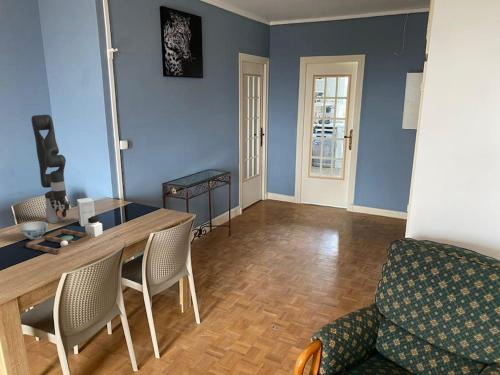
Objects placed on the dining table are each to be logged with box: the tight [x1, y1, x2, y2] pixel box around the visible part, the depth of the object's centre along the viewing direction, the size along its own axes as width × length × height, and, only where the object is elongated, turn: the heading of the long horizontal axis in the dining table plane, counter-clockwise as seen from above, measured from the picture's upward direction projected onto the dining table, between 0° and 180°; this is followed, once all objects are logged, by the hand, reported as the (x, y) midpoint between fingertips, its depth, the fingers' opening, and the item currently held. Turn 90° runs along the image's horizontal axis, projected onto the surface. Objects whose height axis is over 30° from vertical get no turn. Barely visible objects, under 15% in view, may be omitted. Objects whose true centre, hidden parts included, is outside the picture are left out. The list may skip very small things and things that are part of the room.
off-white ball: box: [59, 240, 68, 248], centre depth 217 cm, size 4×4×4 cm
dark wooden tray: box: [24, 228, 93, 255], centre depth 223 cm, size 24×26×2 cm
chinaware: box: [19, 220, 49, 240], centre depth 229 cm, size 15×15×8 cm
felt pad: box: [59, 235, 74, 241], centre depth 230 cm, size 8×8×1 cm
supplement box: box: [76, 197, 96, 227], centre depth 254 cm, size 10×9×17 cm
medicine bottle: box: [84, 215, 104, 238], centre depth 235 cm, size 7×7×12 cm
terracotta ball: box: [57, 210, 62, 217], centre depth 225 cm, size 4×4×4 cm
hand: (61, 216), depth 225 cm, fingers closed on terracotta ball, 4 cm apart
